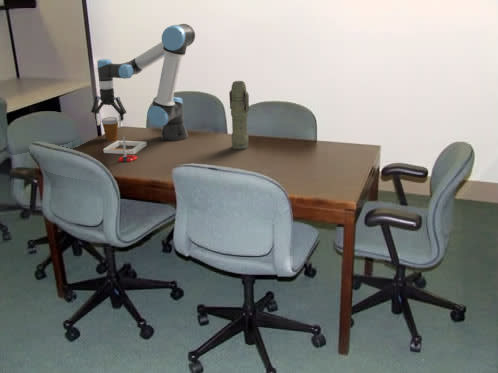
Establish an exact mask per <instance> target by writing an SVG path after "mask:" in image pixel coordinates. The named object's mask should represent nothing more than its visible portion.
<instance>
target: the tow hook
mask: <svg viewBox="0 0 498 373" xmlns="http://www.w3.org/2000/svg"><path fill="white" fill-rule="evenodd" d="M122 141H123V145H122V149H123V154H122V156H120V157H119V158H118V162H125V163H128V162H129V163H131V162H133V161H135V160H137V159H138V156H136V155H133V154H126V149H127V146H126V145H125V141H126V140H125V135H123V136H122Z"/></svg>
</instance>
